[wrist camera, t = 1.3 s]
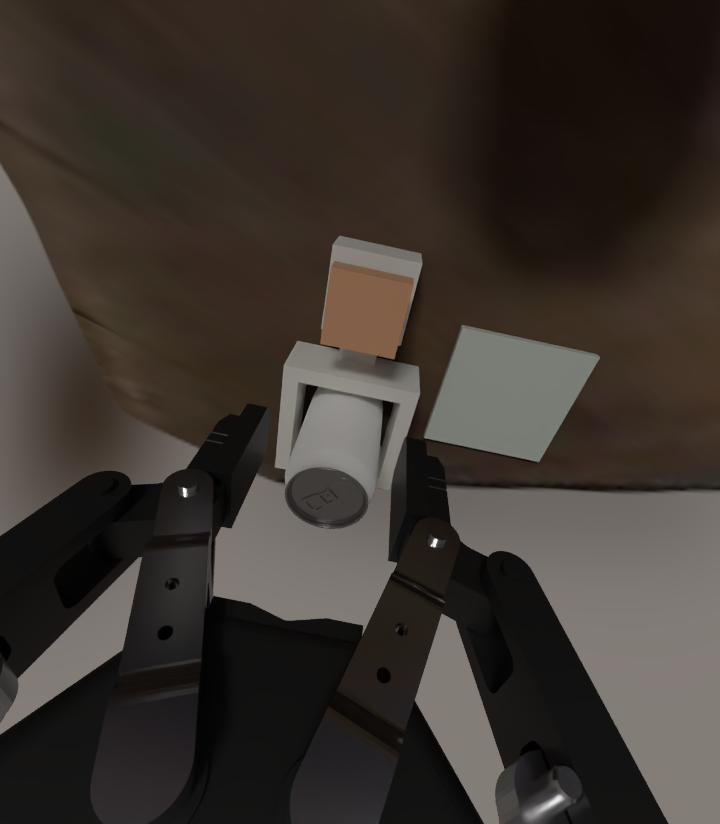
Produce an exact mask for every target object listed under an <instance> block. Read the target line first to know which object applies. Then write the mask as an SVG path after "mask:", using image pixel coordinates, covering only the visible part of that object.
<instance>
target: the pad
mask: <svg viewBox="0 0 720 824" xmlns="http://www.w3.org/2000/svg"><path fill="white" fill-rule="evenodd" d="M599 358H600V357H599V356H598V355H597V354H594V353H589V352H585V351H580V350H575V349H571V348H566V347H562V346H557V345H552V344H548V343H543V342H538V341H534V340H529V339H525V338H520V337H515V336H511V335H506V334H501V333H497V332H492V331H488V330H483V329H478V328H474V327H469V326H464V325H461V328H460V331H459V334H458V337H457V340H456V343H455V345H454V348H453V351H452V354H451V357H450V360H449V363H448V366H447V368H446V371H445V374H444V377H443V380H442V383H441V386H440V389H439V391H438V394H437V397H436V400H435V403H434V406H433V409H432V411H431V414H430V417H429V420H428V423H427V426H426V429H425V432H424V438H427V439H432V440H437V441H441V442H446V443H451V444H456V445H460V446H465V447H470V448H475V449H480V450H484V451H489V452H494V453H499V454H503V455H508V456H513V457H518V458H522V459H527V460H532V461H537V462H539V461H540V459H541V458H542V456H543V454H544V452H545V451H546V449H547V447H548V446H549V444H550V442H551V440H552V439H553V437H554V435H555V434H556V432H557V430H558V428H559V427H560V425H561V423H562V422H563V420H564V418H565V417H566V415H567V413H568V411H569V410H570V408H571V406H572V405H573V403H574V401H575V399H576V398H577V396H578V394H579V393H580V391H581V389H582V387H583V386H584V384H585V382H586V381H587V379H588V377H589V375H590V374H591V372H592V370H593V369H594V367H595V365H596V363H597V362H598V360H599Z"/></svg>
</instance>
